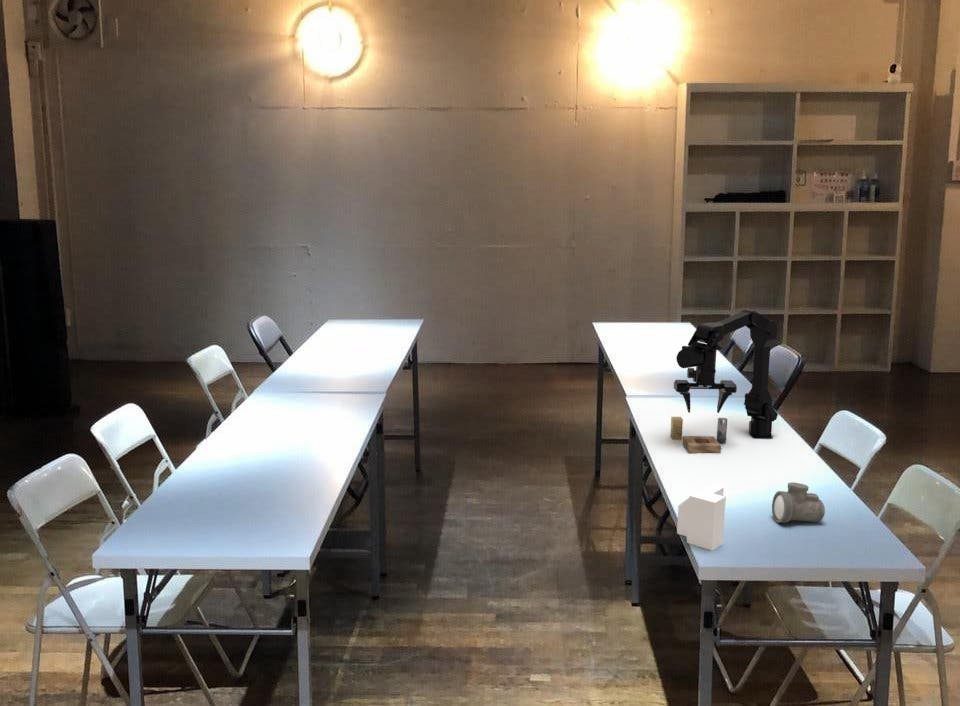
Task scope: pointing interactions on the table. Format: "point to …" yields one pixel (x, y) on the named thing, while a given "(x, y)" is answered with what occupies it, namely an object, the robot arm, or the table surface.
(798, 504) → the pipe fitting
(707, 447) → the bore block
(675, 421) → the square bit
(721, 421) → the cylinder
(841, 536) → the table surface
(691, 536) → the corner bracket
